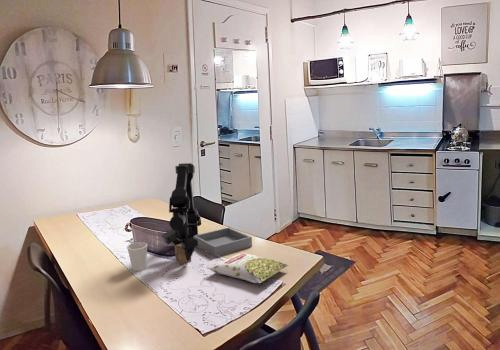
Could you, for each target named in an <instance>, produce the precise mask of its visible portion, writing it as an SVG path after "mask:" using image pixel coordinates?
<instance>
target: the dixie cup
mask: <svg viewBox="0 0 500 350" xmlns="http://www.w3.org/2000/svg"><path fill="white" fill-rule="evenodd" d="M126 249H127V252H128V257H129V261H130V264H131V270H132V271H134V272H140V271H144V270H146V269H147V255H148V253H147V252H148V243H147V242H143V241H138V242H132V243H130V244H128V245H127V246H126Z"/></svg>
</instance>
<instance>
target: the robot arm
mask: <svg viewBox="0 0 500 350" xmlns="http://www.w3.org/2000/svg"><path fill="white" fill-rule="evenodd" d="M195 170H196V166H195V165H194V164H193V163H191V162H190V163H189V162H188V163H187V162H186V163H178V165H175V175H176V180H175V181H176V182H175V188H174V189H173V190H172V191H171V196H170V197H169V205H168V213H169V214H171V213H172V216H171V218H170V220H169V226H170V228H171V229H169V230H168V231H166V232H164V233H163V234H161V238H162V239H163V242H164V243H165V244H166V245H170V244H173V246H174V248H175V245H178V244H181V245H182V248H183V249H184V250H185V254H186V259H187V261H189V260H190V258H191V259H192V256H193V252H194V251H195V250H196V249H195V248H196V247H197V246H198V240H196V239H195V238H193V236H195V235H199V229H198V227H200V226H202V218H201V216H200V214H199V213H198V209H197V208H196V206H195V203H194V194H193V184H192V180H193V178H194V175H195V173H196V171H195ZM197 248H198V247H197Z"/></svg>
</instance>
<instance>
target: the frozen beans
mask: <svg viewBox="0 0 500 350" xmlns="http://www.w3.org/2000/svg"><path fill="white" fill-rule="evenodd" d="M287 267H289V265H288V264H286V263H282V262H280V261H279V260H275V259H270V258H267V257H264V256H263V257H262V256H259V255H254V254H249V253H241V252H240V253H237V254H235V255H233V256H231V257H229V258H228V259H225V260H223V261H221V262H219V263H217V264H215V265H213V266H211V267H208V268H207V269H209V271H212V272H214V273H216V274H220V275H224V276H228V277H231V278H235V279H239V280H243V281H247V282H250V283H253V284H261V283H263V282H264V281H266V280H268V279H270V278H271V277H273V276H274V275H275V274H277V273H279V272H280V271H282V270H283V269H285V268H287Z"/></svg>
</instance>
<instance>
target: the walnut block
mask: <svg viewBox="0 0 500 350" xmlns="http://www.w3.org/2000/svg"><path fill="white" fill-rule="evenodd" d="M174 253H175V254H174V257H175V262H177V263H178V262H179V263H178V264H180V265H183V264H186V263H185V262H187V263H189V262H188V261H187V259H186V254H185V250H184V249H183V248H182V245H181V244H178V245H175V247H174ZM189 261H190V262H192V257H191V258H190V260H189ZM182 263H183V264H182Z"/></svg>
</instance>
